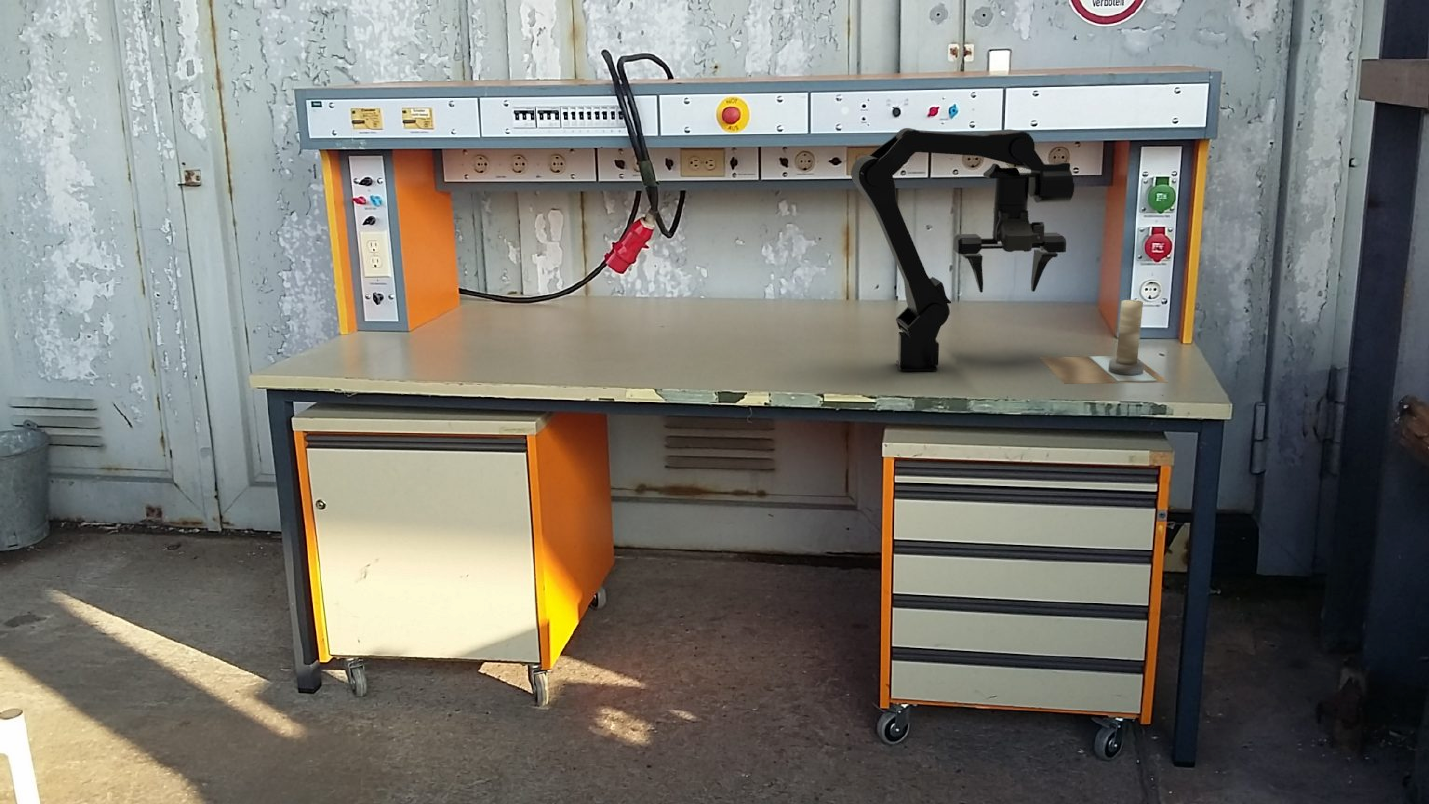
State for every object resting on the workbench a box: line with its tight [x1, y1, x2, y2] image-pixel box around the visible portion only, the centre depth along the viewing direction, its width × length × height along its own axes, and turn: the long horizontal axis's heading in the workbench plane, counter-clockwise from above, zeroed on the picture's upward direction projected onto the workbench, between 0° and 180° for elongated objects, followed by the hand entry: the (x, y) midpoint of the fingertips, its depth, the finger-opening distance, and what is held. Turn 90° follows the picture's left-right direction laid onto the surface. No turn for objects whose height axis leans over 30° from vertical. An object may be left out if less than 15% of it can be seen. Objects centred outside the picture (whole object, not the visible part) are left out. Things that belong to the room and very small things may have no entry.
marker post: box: [1109, 299, 1145, 376], centre depth 206 cm, size 6×6×12 cm
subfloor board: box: [1039, 355, 1169, 385], centre depth 211 cm, size 17×18×1 cm
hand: (1006, 291), depth 218 cm, fingers open, 9 cm apart
